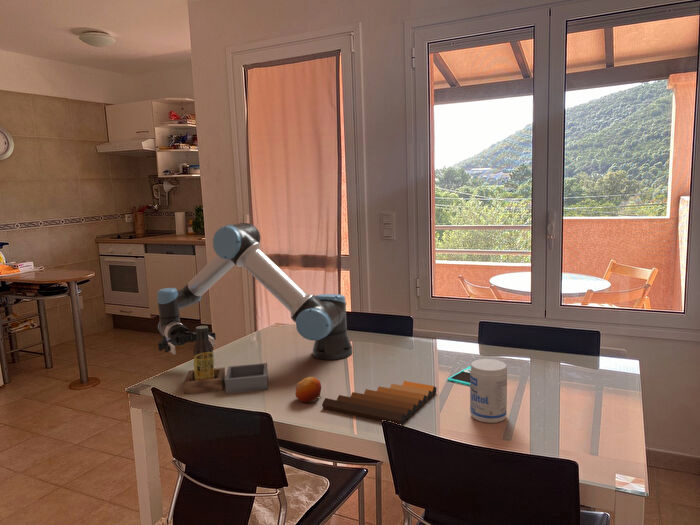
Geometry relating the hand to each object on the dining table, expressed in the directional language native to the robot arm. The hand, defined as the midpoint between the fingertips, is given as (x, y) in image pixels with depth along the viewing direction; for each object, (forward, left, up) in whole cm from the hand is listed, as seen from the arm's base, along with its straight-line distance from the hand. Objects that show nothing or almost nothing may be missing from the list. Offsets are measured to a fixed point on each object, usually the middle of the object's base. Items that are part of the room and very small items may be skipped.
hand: (194, 346), depth 182 cm
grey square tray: (-18, +10, -11) cm, 23 cm away
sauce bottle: (-4, +7, -12) cm, 14 cm away
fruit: (-37, +28, -12) cm, 48 cm away
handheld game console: (-91, +23, -12) cm, 94 cm away
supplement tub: (-84, +52, -12) cm, 99 cm away
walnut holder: (-4, +7, -11) cm, 14 cm away
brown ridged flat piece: (-58, +35, -12) cm, 68 cm away
